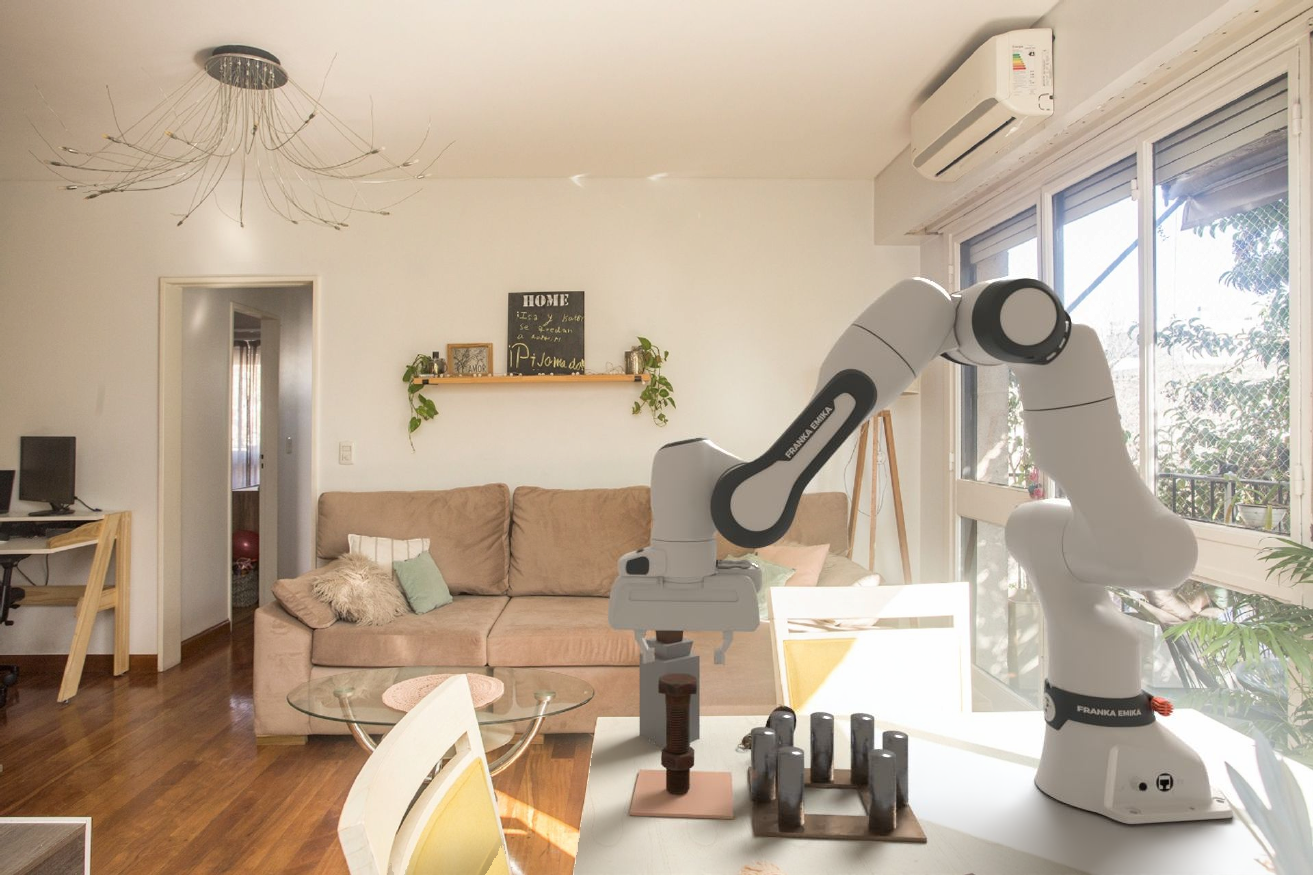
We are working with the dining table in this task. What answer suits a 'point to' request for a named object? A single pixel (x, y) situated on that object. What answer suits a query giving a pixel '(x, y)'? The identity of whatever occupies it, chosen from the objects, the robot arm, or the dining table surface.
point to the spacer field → (830, 781)
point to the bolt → (677, 730)
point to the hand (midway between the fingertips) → (684, 663)
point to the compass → (768, 725)
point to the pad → (684, 796)
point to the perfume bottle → (668, 659)
